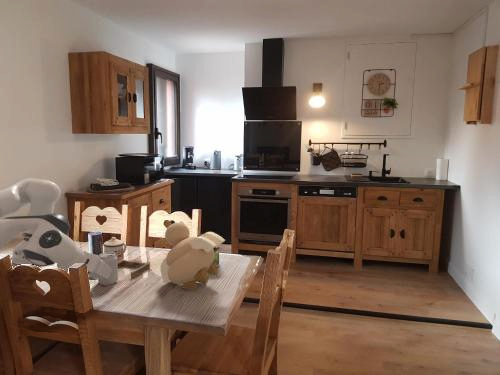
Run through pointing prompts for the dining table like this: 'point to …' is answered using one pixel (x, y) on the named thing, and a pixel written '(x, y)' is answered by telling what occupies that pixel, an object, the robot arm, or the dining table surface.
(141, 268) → the frame
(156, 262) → the dining table surface
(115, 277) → the can
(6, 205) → the robot arm
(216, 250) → the coffee can
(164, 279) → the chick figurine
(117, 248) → the teacup with lid
